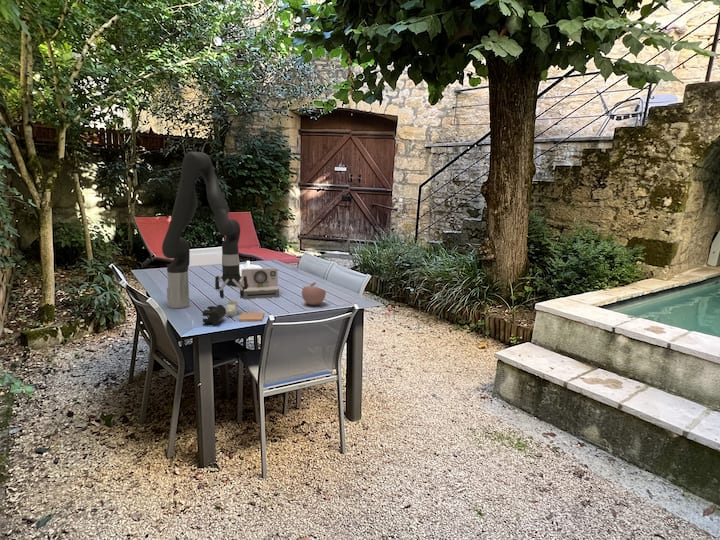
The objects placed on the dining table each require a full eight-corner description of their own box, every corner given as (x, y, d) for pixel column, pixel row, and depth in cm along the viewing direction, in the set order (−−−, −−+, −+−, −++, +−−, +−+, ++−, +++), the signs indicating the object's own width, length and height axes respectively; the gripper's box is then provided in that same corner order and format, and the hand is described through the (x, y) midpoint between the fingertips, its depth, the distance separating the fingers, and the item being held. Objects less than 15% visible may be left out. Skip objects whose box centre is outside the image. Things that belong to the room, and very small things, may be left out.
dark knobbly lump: (219, 326, 184) (218, 311, 183) (202, 326, 184) (202, 310, 183) (226, 319, 194) (225, 304, 193) (210, 318, 194) (209, 304, 192)
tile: (238, 321, 191) (238, 319, 191) (242, 314, 201) (242, 312, 201) (261, 321, 192) (261, 319, 192) (264, 314, 202) (264, 312, 202)
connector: (229, 310, 207) (229, 300, 206) (237, 310, 207) (237, 300, 206) (224, 317, 196) (224, 307, 195) (233, 317, 196) (233, 307, 195)
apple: (328, 302, 226) (328, 281, 224) (321, 309, 214) (321, 286, 212) (306, 300, 228) (306, 279, 226) (298, 306, 217) (298, 284, 215)
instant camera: (238, 299, 226) (237, 271, 223) (240, 290, 246) (240, 264, 243) (279, 299, 230) (279, 271, 227) (278, 289, 250) (278, 264, 247)
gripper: (212, 265, 193) (214, 300, 196) (245, 265, 195) (246, 300, 198) (216, 262, 201) (218, 296, 204) (247, 262, 202) (249, 295, 205)
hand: (232, 298), depth 201 cm, fingers open, 8 cm apart
